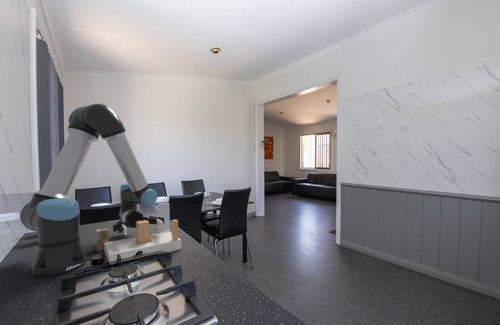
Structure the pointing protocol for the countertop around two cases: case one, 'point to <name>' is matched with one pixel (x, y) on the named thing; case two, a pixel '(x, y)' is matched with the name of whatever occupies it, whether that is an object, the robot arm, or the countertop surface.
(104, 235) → the pin short
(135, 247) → the hole block
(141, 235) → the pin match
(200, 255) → the countertop surface
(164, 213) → the pin long
